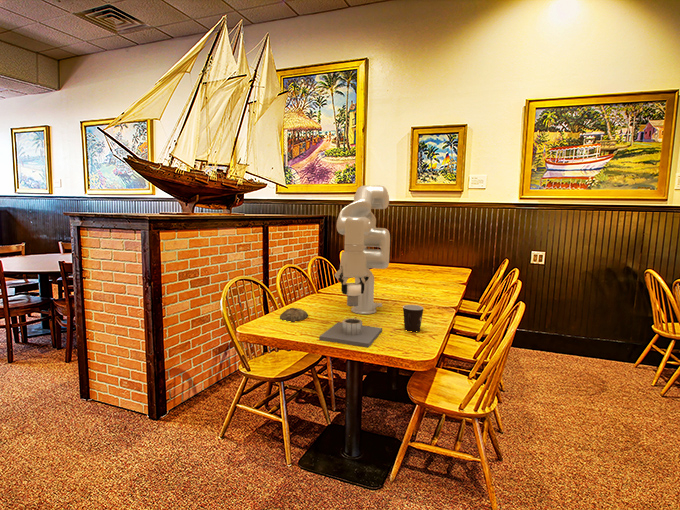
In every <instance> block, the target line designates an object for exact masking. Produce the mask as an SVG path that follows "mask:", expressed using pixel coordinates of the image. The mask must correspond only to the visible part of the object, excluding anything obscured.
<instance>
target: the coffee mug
mask: <svg viewBox="0 0 680 510" xmlns="http://www.w3.org/2000/svg"><path fill="white" fill-rule="evenodd" d="M402 308H403V309H402V310H403V311H402V312H403V324H404V331H405V330H407V331H412V332H411V333H413V332H415V333H417V332H416V331H419V330H420V331H421V326H422V319H423V313H424V307H423V306H421V305H418V304H405V305H402ZM407 331H406V332H407ZM420 331H419V332H420Z"/></svg>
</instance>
